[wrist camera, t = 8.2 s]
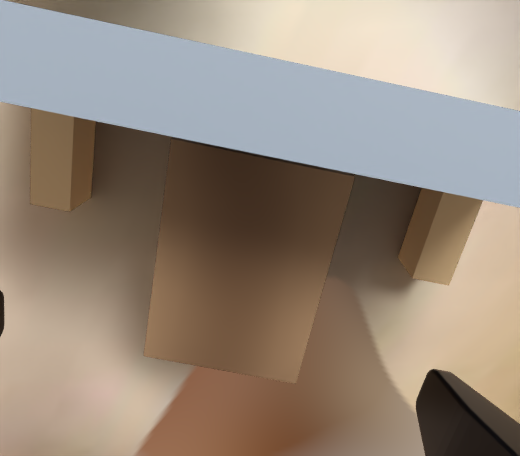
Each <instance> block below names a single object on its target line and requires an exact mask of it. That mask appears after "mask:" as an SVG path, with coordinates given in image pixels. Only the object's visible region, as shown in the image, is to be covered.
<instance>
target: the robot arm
mask: <svg viewBox="0 0 520 456" xmlns="http://www.w3.org/2000/svg"><path fill="white" fill-rule="evenodd" d="M3 329H4V295H3V293H2V292H1V291H0V336H1V334H2V332H3ZM416 412H417V417H418V422H419V427H420V432H421V436H422V441H423V446H424V451H425V456H520V424H519V423H518V422H516V421H515V420H514V419H512V418H511V417H510V416H508V415H507V414H506V413H504V412H503V411H502V410H500V409H499V408H498V407H496V406H495V405H494V404H492V403H491V402H490V401H489V400H487V399H486V398H485V397H483V396H482V395H481V394H479V393H478V392H477V391H475V390H474V389H473V388H471V387H470V386H469V385H467V384H466V383H465V382H463V381H462V380H461V379H459V378H458V377H457V376H455V375H454V374H453V373H451V372H448V371H442V370H437V369H432V370H430V371H429V372H428V373H427V375H426V378H425V380H424V383H423V385H422V387H421V390H420V392H419V395H418V397H417V401H416Z"/></svg>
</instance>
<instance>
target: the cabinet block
mask: <svg viewBox="0 0 520 456" xmlns="http://www.w3.org/2000/svg"><path fill="white" fill-rule="evenodd" d="M354 179H355V176H354V175H353V174H352V173H348V172H343V171H338V170H333V169H328V168H323V167H318V166H313V165H308V164H304V163H299V162H294V161H289V160H284V159H279V158H274V157H269V156H264V155H259V154H255V153H250V152H245V151H240V150H235V149H230V148H225V147H220V146H215V145H210V144H206V143H201V142H196V141H191V140H186V139H181V138H176V137H173V138H172V139H171V142H170V150H169V158H168V166H167V174H166V182H165V190H164V198H163V205H162V213H161V221H160V229H159V237H158V245H157V253H156V261H155V269H154V277H153V285H152V293H151V300H150V308H149V316H148V324H147V332H146V340H145V348H144V356H146V357H152V358H157V359H163V360H168V361H174V362H179V363H185V364H190V365H196V366H201V367H207V368H213V369H218V370H223V371H229V372H234V373H240V374H245V375H250V376H256V377H262V378H267V379H272V380H278V381H283V382H289V383H294V384H296V382H297V378H298V375H299V371H300V368H301V364H302V360H303V357H304V354H305V350H306V347H307V343H308V340H309V336H310V333H311V329H312V326H313V322H314V319H315V315H316V311H317V308H318V305H319V301H320V298H321V294H322V291H323V287H324V284H325V280H326V277H327V273H328V270H329V266H330V263H331V259H332V256H333V252H334V249H335V245H336V242H337V238H338V235H339V231H340V228H341V224H342V221H343V217H344V214H345V210H346V207H347V203H348V200H349V196H350V193H351V189H352V186H353V182H354Z"/></svg>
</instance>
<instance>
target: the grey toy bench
mask: <svg viewBox="0 0 520 456" xmlns="http://www.w3.org/2000/svg"><path fill="white" fill-rule="evenodd" d="M0 102H5V103H9V104H14V105H19V106H24V107H29V108H31V161H30V204H32V205H37V206H42V207H47V208H52V209H58V210H63V211H68V212H70V211H72V210H73V209H75V208H76V207H78V206H79V205H81V204H82V203H84V202H85V201H87V200H88V199H90V198H91V190H92V174H93V158H94V142H95V126H96V121H98V122H103V123H107V124H112V125H117V126H122V127H127V128H132V129H137V130H142V131H147V132H152V133H156V134H161V135H166V136H171V137H176V138H181V139H186V140H191V141H196V142H201V143H206V144H210V145H215V146H220V147H225V148H230V149H235V150H240V151H245V152H250V153H255V154H259V155H264V156H269V157H274V158H279V159H284V160H289V161H294V162H299V163H304V164H308V165H313V166H318V167H323V168H328V169H333V170H338V171H343V172H348V173H353V174H357V175H362V176H367V177H372V178H377V179H382V180H387V181H392V182H397V183H402V184H406V185H411V186H416V187H421V188H422V189H421V192H420V195H419V198H418V200H417V203H416V206H415V209H414V212H413V215H412V218H411V221H410V224H409V227H408V230H407V232H406V235H405V238H404V241H403V244H402V247H401V250H400V253H399V256H398V258H399V260H400V261H401V263H402V264H403V266H404V267H405V269H406V270H407V271H408V273H409V274H410V276H411V277H412V278H413V279H419V280H424V281H429V282H434V283H439V284H444V285H449V284H450V281H451V279H452V276H453V274H454V271H455V269H456V266H457V264H458V261H459V259H460V256H461V254H462V251H463V249H464V246H465V244H466V241H467V239H468V236H469V234H470V231H471V229H472V226H473V224H474V221H475V219H476V216H477V214H478V211H479V209H480V206H481V204H482V201H483V200H485V201H490V202H495V203H500V204H505V205H509V206H514V207H519V208H520V111H517V110H513V109H508V108H503V107H499V106H494V105H489V104H485V103H480V102H475V101H471V100H466V99H461V98H457V97H452V96H447V95H443V94H438V93H433V92H429V91H424V90H419V89H415V88H410V87H405V86H401V85H396V84H391V83H387V82H382V81H377V80H373V79H368V78H364V77H359V76H354V75H350V74H345V73H340V72H336V71H331V70H326V69H322V68H317V67H312V66H308V65H303V64H298V63H294V62H289V61H284V60H280V59H275V58H270V57H266V56H261V55H256V54H252V53H247V52H242V51H238V50H233V49H228V48H224V47H219V46H214V45H210V44H205V43H200V42H196V41H191V40H186V39H182V38H177V37H172V36H168V35H163V34H159V33H154V32H149V31H145V30H140V29H135V28H131V27H126V26H121V25H117V24H112V23H107V22H103V21H98V20H93V19H89V18H84V17H79V16H75V15H70V14H65V13H61V12H56V11H51V10H47V9H42V8H37V7H33V6H28V5H23V4H19V3H14V2H9V1H5V0H0Z"/></svg>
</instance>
